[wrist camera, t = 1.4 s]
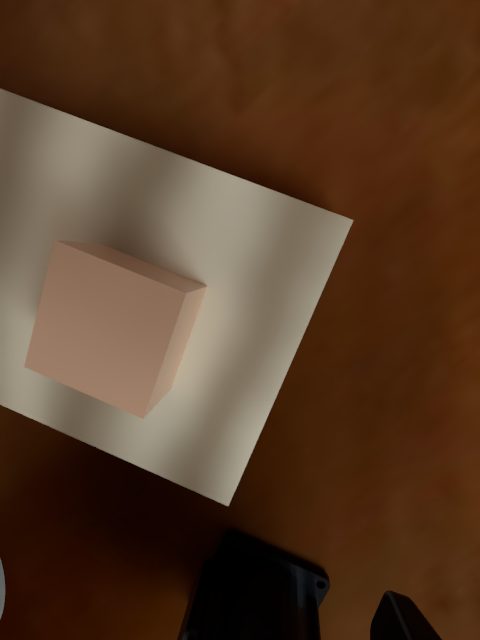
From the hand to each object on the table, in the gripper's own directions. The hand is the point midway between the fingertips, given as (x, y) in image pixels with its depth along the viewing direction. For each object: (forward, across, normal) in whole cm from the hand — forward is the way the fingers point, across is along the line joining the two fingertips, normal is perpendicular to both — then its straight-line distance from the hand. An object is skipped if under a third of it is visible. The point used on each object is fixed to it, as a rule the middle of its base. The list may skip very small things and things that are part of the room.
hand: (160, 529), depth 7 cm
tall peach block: (+8, +5, -2) cm, 10 cm away
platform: (+11, +6, -2) cm, 13 cm away
